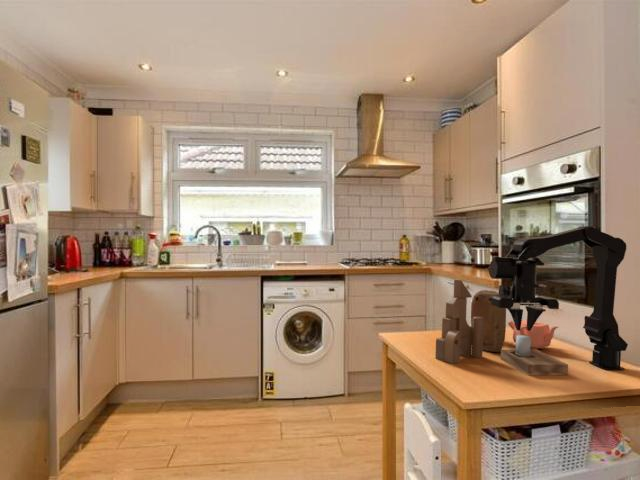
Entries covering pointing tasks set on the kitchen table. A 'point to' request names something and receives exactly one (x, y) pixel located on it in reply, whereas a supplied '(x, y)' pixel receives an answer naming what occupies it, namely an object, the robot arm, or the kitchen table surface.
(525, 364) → the board
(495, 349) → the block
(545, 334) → the teapot
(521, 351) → the peg
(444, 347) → the wooden toy
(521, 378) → the kitchen table surface
